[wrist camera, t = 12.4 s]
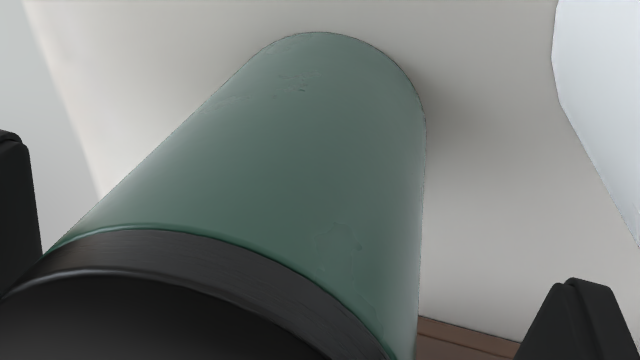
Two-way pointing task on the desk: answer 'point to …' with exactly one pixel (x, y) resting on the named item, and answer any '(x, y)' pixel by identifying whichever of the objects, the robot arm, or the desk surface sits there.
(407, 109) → the canister
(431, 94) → the desk surface
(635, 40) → the cylinder with rectangular tab
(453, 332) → the tea box
